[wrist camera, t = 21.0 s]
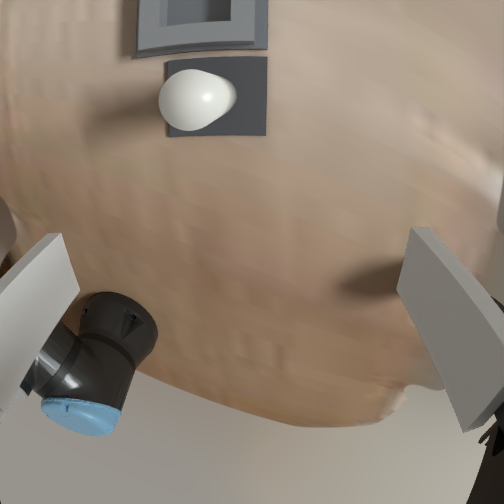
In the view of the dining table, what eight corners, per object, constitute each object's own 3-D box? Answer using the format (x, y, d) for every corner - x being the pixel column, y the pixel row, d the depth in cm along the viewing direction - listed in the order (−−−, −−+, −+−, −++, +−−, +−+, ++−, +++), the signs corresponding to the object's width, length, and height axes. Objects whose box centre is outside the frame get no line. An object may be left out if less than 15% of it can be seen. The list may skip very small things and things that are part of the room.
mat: (170, 136, 36) (169, 137, 36) (168, 61, 31) (167, 61, 31) (265, 134, 36) (265, 135, 36) (267, 57, 31) (267, 56, 30)
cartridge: (196, 116, 34) (159, 132, 22) (195, 77, 32) (157, 72, 20) (236, 115, 34) (221, 129, 22) (237, 76, 32) (221, 67, 20)
